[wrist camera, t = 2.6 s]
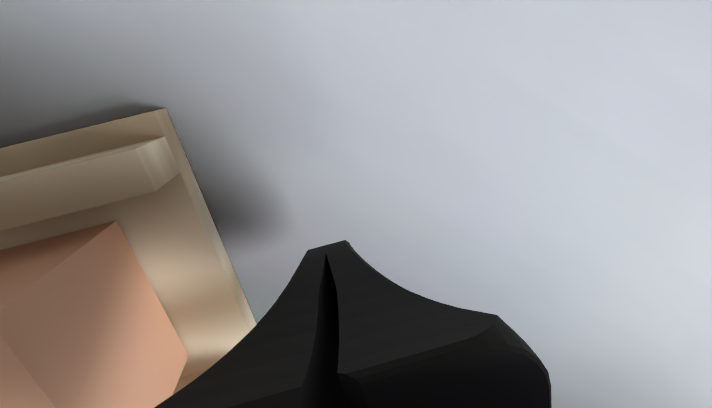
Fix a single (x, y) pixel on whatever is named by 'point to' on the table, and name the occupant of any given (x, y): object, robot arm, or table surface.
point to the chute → (133, 220)
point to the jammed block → (83, 326)
